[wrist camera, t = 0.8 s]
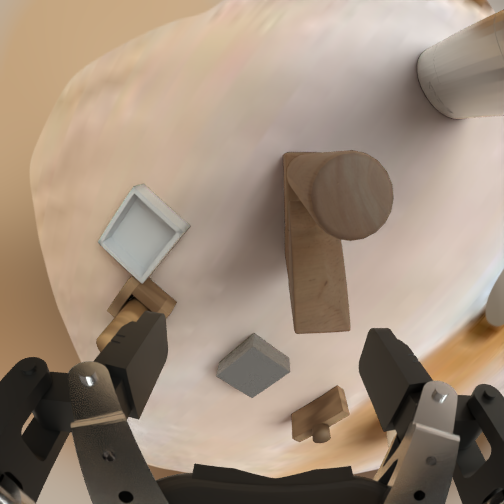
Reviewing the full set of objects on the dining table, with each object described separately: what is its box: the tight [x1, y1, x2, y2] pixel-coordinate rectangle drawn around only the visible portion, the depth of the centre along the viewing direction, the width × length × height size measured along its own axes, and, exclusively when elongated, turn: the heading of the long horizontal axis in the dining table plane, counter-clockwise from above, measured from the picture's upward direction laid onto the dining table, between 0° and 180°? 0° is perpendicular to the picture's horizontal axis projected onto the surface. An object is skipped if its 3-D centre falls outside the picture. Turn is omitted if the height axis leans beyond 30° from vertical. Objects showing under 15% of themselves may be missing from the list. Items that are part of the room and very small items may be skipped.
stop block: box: [291, 386, 350, 443], centre depth 34 cm, size 9×2×7 cm, turn 137°
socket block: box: [107, 276, 177, 318], centre depth 31 cm, size 6×6×3 cm
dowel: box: [96, 296, 152, 352], centre depth 28 cm, size 3×3×10 cm
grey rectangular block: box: [216, 333, 290, 398], centre depth 34 cm, size 7×6×3 cm
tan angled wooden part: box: [283, 150, 393, 334], centre depth 19 cm, size 4×11×18 cm, turn 2°
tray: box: [98, 184, 190, 284], centre depth 29 cm, size 8×7×2 cm
